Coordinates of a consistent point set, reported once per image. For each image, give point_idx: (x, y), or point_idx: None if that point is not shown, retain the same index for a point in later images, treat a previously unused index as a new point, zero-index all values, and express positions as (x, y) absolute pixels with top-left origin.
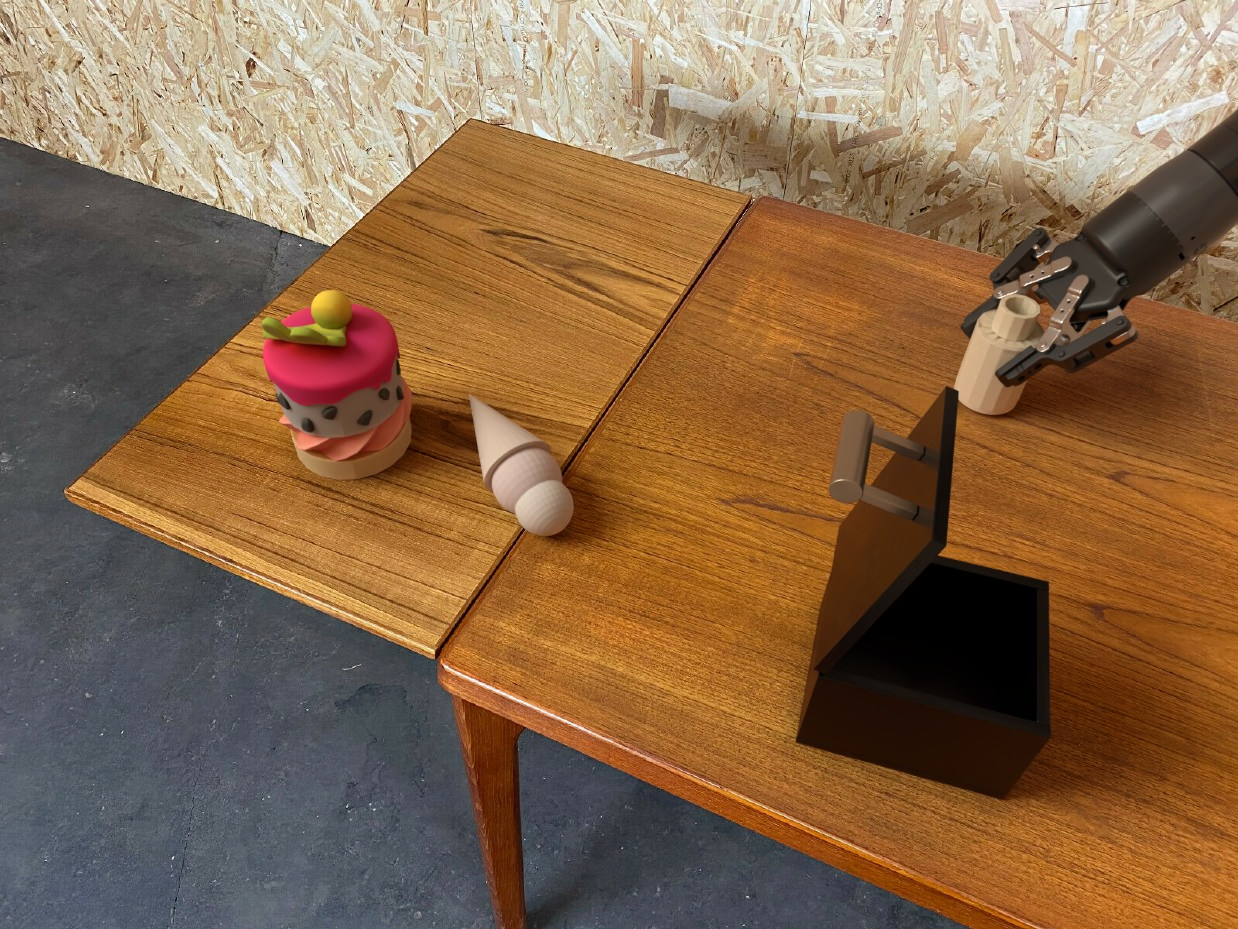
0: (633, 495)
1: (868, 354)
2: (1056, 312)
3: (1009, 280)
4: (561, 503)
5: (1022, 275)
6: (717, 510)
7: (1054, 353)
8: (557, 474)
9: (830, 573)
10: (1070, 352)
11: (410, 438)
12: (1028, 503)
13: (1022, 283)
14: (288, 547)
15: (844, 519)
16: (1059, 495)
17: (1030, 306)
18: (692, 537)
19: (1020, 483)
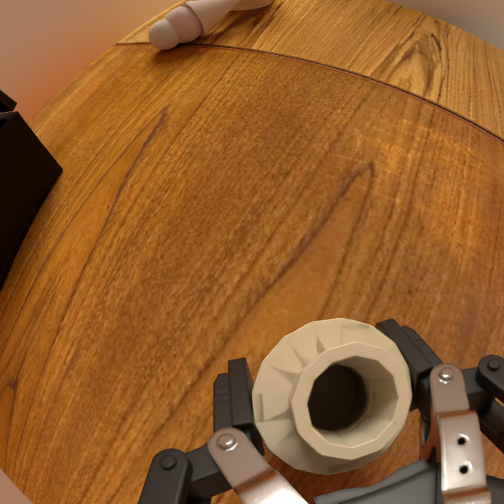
0: (183, 69)
1: (389, 243)
2: (285, 492)
3: (485, 404)
4: (153, 30)
5: (473, 416)
6: (157, 106)
7: (200, 459)
8: (174, 24)
9: (41, 143)
10: (155, 478)
11: (242, 9)
12: (113, 385)
13: (448, 418)
14: (181, 6)
15: (10, 98)
16: (124, 429)
17: (366, 437)
18: (138, 98)
19: (142, 390)
